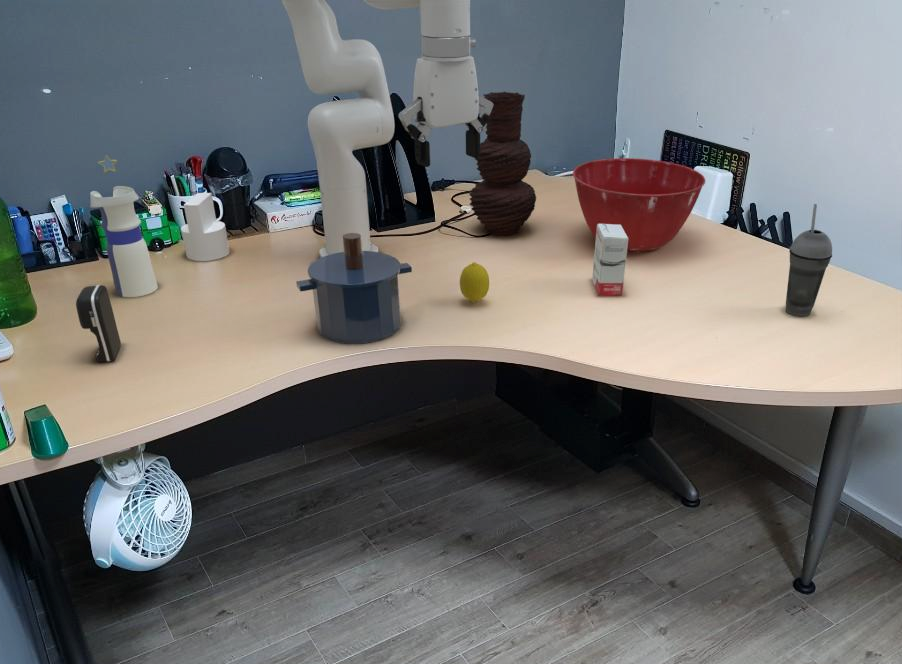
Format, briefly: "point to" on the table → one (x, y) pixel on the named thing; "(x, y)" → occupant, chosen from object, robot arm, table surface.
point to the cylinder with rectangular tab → (203, 230)
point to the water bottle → (124, 240)
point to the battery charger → (99, 320)
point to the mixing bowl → (638, 198)
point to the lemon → (474, 282)
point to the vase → (503, 169)
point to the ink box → (609, 259)
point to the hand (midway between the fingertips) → (448, 160)
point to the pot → (357, 310)
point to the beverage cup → (807, 269)
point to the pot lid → (354, 266)
